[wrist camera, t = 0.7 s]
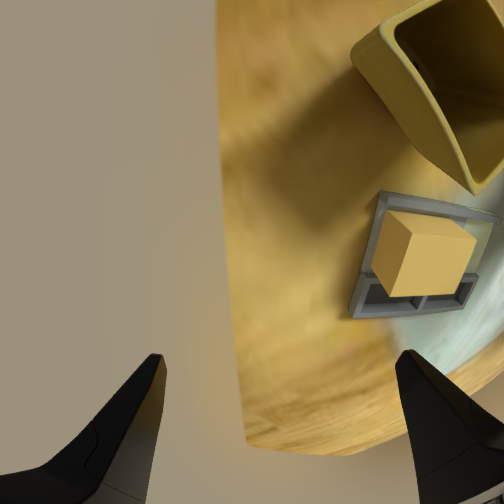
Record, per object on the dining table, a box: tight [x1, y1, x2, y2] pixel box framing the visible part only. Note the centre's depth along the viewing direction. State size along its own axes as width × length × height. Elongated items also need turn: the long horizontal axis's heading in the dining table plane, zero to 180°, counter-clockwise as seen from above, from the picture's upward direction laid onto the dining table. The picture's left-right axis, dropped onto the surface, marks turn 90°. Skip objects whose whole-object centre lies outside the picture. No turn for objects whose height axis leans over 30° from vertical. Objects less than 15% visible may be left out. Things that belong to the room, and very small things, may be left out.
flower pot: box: [350, 0, 504, 196], centre depth 10 cm, size 9×9×9 cm
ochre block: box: [370, 209, 477, 297], centre depth 18 cm, size 7×5×4 cm
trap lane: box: [348, 191, 502, 319], centre depth 21 cm, size 15×11×1 cm
